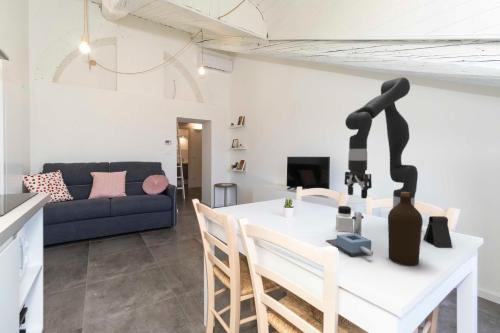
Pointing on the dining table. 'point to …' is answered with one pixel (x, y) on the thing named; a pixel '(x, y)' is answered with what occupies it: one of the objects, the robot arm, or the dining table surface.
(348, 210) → the medicine bottle
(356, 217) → the chuck key
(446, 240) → the black folding stand
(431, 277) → the dining table surface
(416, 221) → the olive oil
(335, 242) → the rubber pad
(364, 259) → the dining table surface
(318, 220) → the dining table surface
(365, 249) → the block
